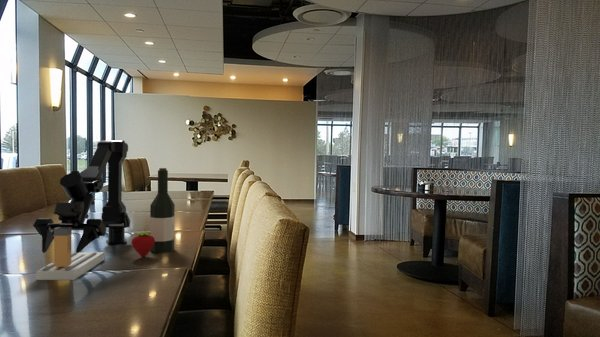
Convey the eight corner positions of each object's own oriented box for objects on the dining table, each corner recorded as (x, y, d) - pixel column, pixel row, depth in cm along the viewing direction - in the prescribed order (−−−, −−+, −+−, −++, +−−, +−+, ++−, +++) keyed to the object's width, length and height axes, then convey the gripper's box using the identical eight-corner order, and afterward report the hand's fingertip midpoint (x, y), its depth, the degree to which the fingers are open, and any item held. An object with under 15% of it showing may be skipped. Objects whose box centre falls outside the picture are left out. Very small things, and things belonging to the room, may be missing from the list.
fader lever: (58, 264, 114) (58, 226, 114) (71, 264, 115) (71, 226, 114) (53, 266, 112) (53, 228, 111) (67, 266, 112) (67, 228, 112)
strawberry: (129, 256, 134) (129, 227, 134) (151, 253, 139) (151, 225, 138) (134, 260, 129) (134, 230, 129) (157, 257, 134) (157, 228, 134)
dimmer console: (72, 259, 129) (72, 250, 129) (104, 259, 130) (104, 250, 130) (36, 279, 109) (36, 268, 109) (74, 279, 110) (74, 268, 110)
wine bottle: (178, 248, 146) (179, 168, 145) (164, 254, 138) (165, 169, 137) (160, 246, 149) (160, 167, 147) (144, 251, 141) (145, 168, 140)
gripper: (36, 191, 115) (12, 236, 105) (102, 192, 117) (85, 237, 106) (51, 213, 124) (30, 257, 113) (112, 214, 125) (97, 257, 115)
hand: (60, 252), depth 112 cm, fingers open, 9 cm apart
